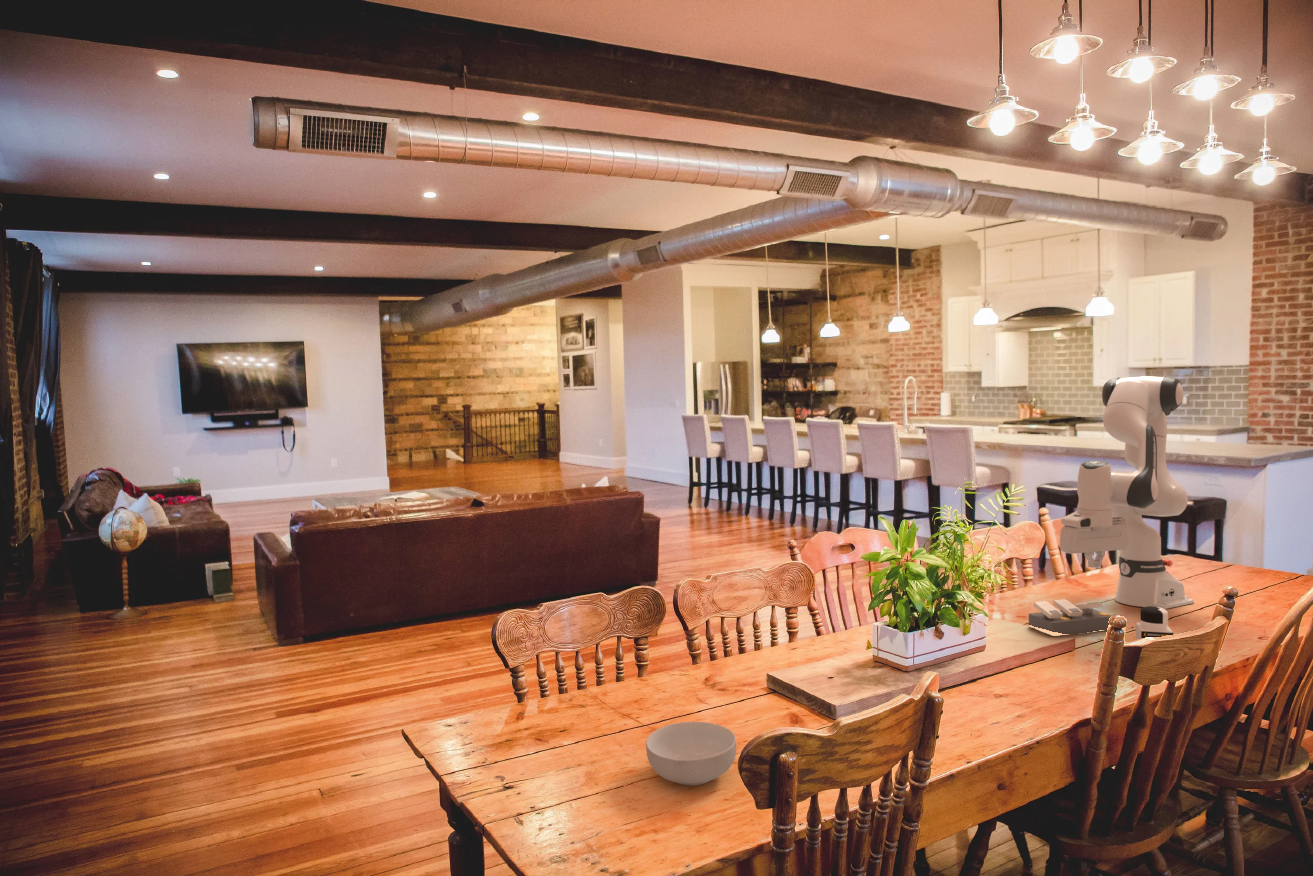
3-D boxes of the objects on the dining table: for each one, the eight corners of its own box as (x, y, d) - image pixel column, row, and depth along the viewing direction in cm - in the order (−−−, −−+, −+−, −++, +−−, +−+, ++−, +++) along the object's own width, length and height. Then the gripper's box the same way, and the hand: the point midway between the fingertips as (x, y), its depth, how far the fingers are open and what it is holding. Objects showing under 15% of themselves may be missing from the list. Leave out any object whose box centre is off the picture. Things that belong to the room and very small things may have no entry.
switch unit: (1087, 620, 240) (1087, 603, 240) (1113, 630, 230) (1113, 612, 230) (1028, 627, 236) (1028, 609, 235) (1052, 637, 226) (1052, 618, 226)
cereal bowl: (680, 748, 163) (679, 714, 162) (753, 769, 153) (752, 732, 153) (628, 783, 149) (627, 745, 149) (705, 807, 139) (704, 767, 139)
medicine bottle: (1141, 657, 207) (1141, 610, 207) (1135, 648, 214) (1135, 603, 213) (1173, 659, 205) (1173, 612, 204) (1166, 650, 212) (1166, 605, 211)
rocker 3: (1084, 607, 238) (1084, 602, 238) (1102, 606, 231) (1101, 602, 231) (1073, 608, 237) (1072, 604, 237) (1090, 608, 230) (1089, 603, 230)
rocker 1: (1045, 604, 235) (1046, 600, 234) (1062, 617, 228) (1063, 613, 228) (1033, 606, 234) (1034, 601, 234) (1049, 618, 227) (1050, 614, 227)
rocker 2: (1064, 602, 236) (1065, 598, 236) (1081, 615, 230) (1082, 611, 229) (1053, 604, 235) (1053, 599, 235) (1069, 616, 229) (1070, 612, 228)
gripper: (1117, 515, 235) (1117, 562, 236) (1056, 519, 230) (1056, 567, 231) (1134, 518, 229) (1134, 566, 229) (1072, 522, 224) (1072, 571, 225)
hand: (1094, 567), depth 230 cm, fingers closed
